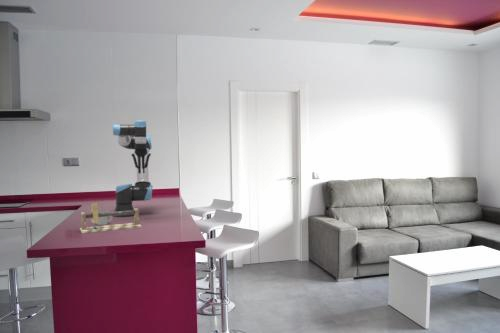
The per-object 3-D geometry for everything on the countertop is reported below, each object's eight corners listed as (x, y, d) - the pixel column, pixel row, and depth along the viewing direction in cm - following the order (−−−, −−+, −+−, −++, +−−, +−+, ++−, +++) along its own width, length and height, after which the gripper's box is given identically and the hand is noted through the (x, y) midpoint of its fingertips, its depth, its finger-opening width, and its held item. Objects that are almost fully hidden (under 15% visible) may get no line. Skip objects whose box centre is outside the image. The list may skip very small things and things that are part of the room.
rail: (82, 233, 222) (81, 214, 222) (80, 230, 233) (79, 211, 232) (141, 227, 239) (141, 209, 238) (136, 224, 249) (136, 207, 249)
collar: (93, 223, 227) (92, 204, 226) (91, 221, 234) (90, 203, 233) (98, 222, 228) (98, 204, 228) (96, 220, 235) (96, 202, 235)
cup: (96, 223, 254) (96, 210, 253) (112, 222, 257) (112, 209, 256) (95, 225, 247) (95, 211, 246) (112, 224, 250) (112, 211, 249)
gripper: (132, 143, 253) (133, 178, 253) (151, 143, 259) (152, 178, 260) (129, 143, 259) (130, 178, 260) (149, 143, 266) (149, 177, 266)
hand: (141, 178), depth 260 cm, fingers closed
